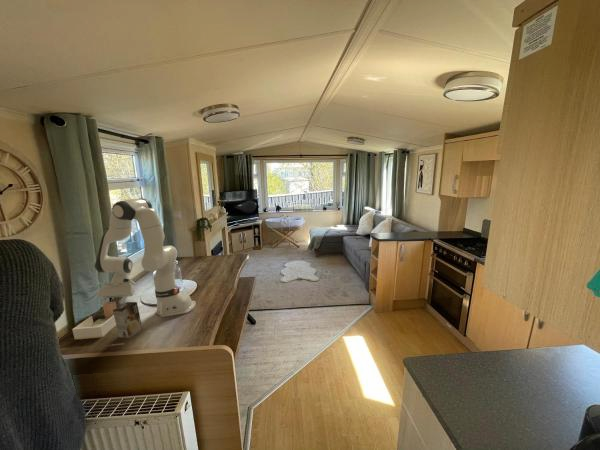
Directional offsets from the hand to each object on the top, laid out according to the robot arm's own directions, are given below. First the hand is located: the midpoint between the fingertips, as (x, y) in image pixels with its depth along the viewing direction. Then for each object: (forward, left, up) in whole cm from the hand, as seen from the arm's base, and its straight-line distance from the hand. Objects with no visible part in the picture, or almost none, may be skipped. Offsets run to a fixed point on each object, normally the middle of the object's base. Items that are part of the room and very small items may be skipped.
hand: (112, 304), depth 159 cm
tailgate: (-2, +12, -6) cm, 13 cm away
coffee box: (-22, +23, -7) cm, 33 cm away
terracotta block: (0, +3, -7) cm, 8 cm away
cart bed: (-2, +18, -7) cm, 20 cm away
